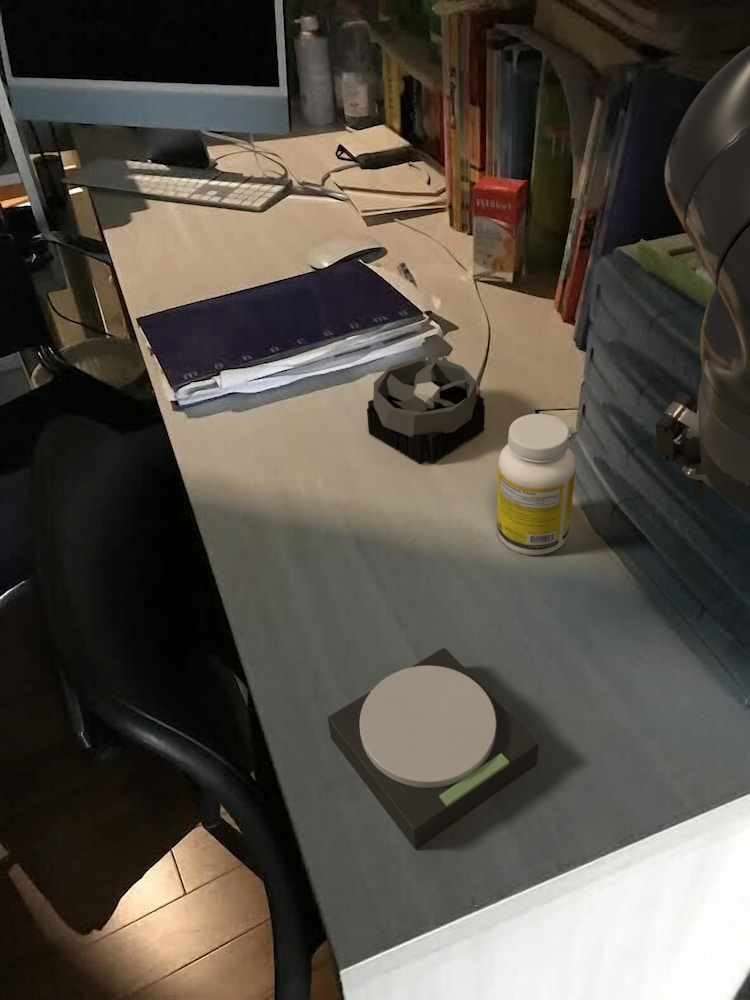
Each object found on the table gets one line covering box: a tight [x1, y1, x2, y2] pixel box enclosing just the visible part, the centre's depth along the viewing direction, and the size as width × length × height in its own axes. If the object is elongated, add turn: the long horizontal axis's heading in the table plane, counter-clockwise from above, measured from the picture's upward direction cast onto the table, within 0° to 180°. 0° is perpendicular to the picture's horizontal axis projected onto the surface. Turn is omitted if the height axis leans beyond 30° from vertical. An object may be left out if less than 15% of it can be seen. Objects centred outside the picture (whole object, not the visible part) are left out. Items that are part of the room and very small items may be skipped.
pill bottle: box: [496, 413, 577, 556], centre depth 69 cm, size 6×6×11 cm
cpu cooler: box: [366, 355, 486, 465], centre depth 83 cm, size 10×6×10 cm
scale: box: [326, 647, 540, 851], centre depth 56 cm, size 10×10×3 cm
